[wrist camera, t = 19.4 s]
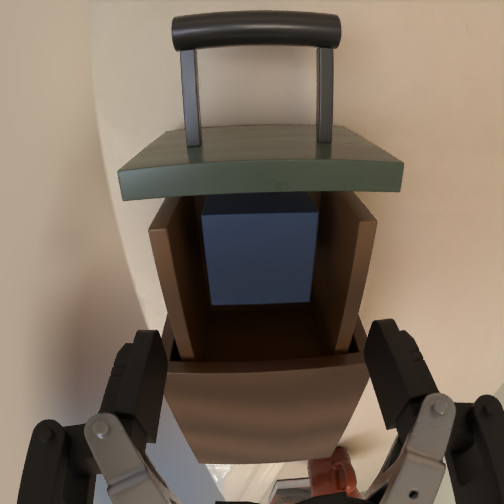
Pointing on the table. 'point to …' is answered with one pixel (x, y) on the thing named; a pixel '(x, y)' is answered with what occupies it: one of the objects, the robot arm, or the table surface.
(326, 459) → the mug
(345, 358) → the cabinet
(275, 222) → the block
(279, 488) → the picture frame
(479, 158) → the table surface
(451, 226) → the table surface
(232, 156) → the drawer
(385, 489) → the robot arm
